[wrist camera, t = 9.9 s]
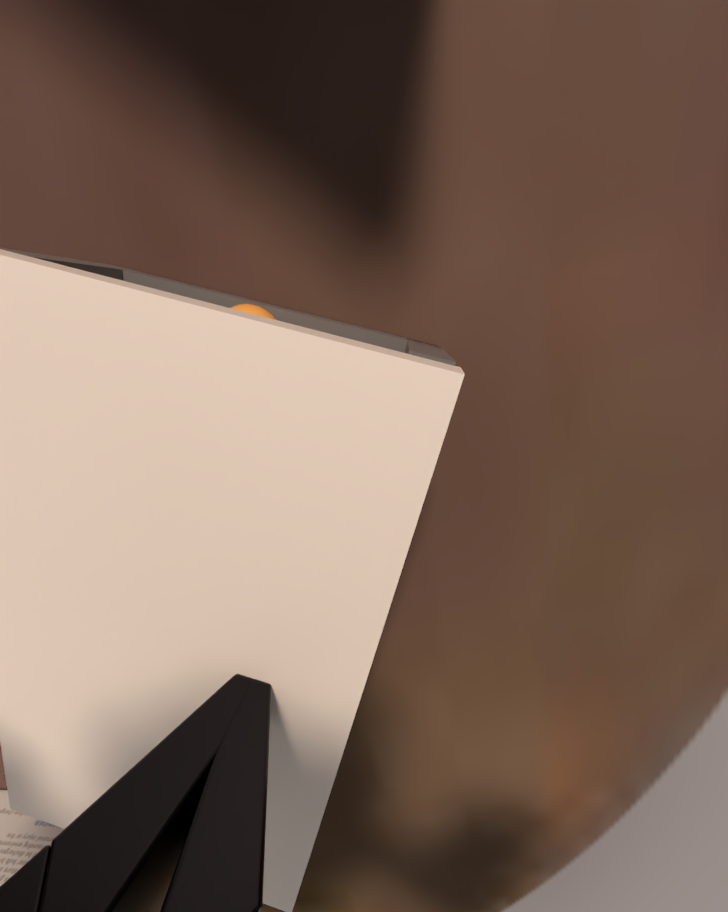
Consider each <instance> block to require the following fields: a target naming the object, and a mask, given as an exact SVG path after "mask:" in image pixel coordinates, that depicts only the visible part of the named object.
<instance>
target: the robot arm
mask: <svg viewBox="0 0 728 912" xmlns="http://www.w3.org/2000/svg"><path fill="white" fill-rule="evenodd" d="M270 710H271V685H270V684H269V683H266V682H263V681H260V680H256V679H253V678H250V677H247V676H244V675H240V674H235V675H234V676H233V677H232V678H230V679H229V680H228V681H227V682H226V683H225V684H224V685H223V686H222V687H221V688H219V689H218V690H217V691H216V692H215V693H214V694H213V695H212V696H211V697H209V698H208V699H207V700H206V701H205V702H204V703H203V704H202V705H201V706H200V707H198V708H197V709H196V710H195V711H194V712H193V713H192V714H191V715H190V716H189V717H187V718H186V719H185V720H184V721H183V722H182V723H181V724H180V725H179V726H177V727H176V728H175V729H174V730H173V731H172V732H171V733H170V734H169V735H168V736H166V737H165V738H164V739H163V740H162V741H161V742H160V743H159V744H158V745H157V746H155V747H154V748H153V749H152V750H151V751H150V752H149V753H148V754H147V755H145V756H144V757H143V758H142V759H141V760H140V761H139V762H138V763H137V764H136V765H134V766H133V767H132V768H131V769H130V770H129V771H128V772H127V773H126V774H125V775H123V776H122V777H121V778H120V779H119V780H118V781H117V782H116V783H115V784H113V785H112V786H111V787H110V788H109V789H108V790H107V791H106V792H105V793H104V794H102V795H101V796H100V797H99V798H98V799H97V800H96V801H95V802H94V803H93V804H91V805H90V806H89V807H88V808H87V809H86V810H85V811H84V812H83V813H81V814H80V815H79V816H78V817H77V818H76V819H75V820H74V821H73V822H72V823H70V824H69V825H68V826H67V827H66V828H65V829H64V830H63V831H62V832H61V833H59V834H58V835H57V836H56V837H55V838H54V839H53V840H52V843H51V846H50V845H46V846H45V847H44V848H43V849H41V850H40V851H39V852H38V853H37V854H36V855H35V856H34V857H33V858H32V859H30V860H29V861H28V862H27V863H26V864H25V865H24V866H23V867H22V868H21V869H19V870H18V871H17V872H16V873H15V874H14V875H13V876H12V877H10V878H9V879H8V880H7V881H6V882H5V883H3V884H2V885H1V886H0V912H261V909H262V904H263V879H264V855H265V831H266V807H267V783H268V759H269V735H270Z"/></svg>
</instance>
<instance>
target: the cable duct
mask: <svg viewBox="0 0 728 912" xmlns="http://www.w3.org/2000/svg"><path fill="white" fill-rule="evenodd" d="M0 249H2V250H6V251H10V252H13V253H17V254H21V255H25V256H29V257H33V258H37V259H41V260H45V261H48V262H52V263H56V264H60V265H64V266H68V267H72V268H76V269H80V270H84V271H87V272H91V273H95V274H99V275H103V276H107V277H111V278H115V279H119V280H122V281H126V282H130V283H134V284H138V285H142V286H146V287H150V288H154V289H157V290H161V291H165V292H169V293H173V294H177V295H181V296H185V297H189V298H193V299H196V300H200V301H204V302H208V303H212V304H216V305H220V306H224V307H228V308H231V309H235V310H239V311H243V312H247V313H251V314H255V315H259V316H263V317H266V318H270V319H274V320H278V321H282V322H286V323H290V324H294V325H298V326H302V327H305V328H309V329H313V330H317V331H321V332H325V333H329V334H333V335H337V336H340V337H344V338H348V339H352V340H356V341H360V342H364V343H368V344H372V345H375V346H379V347H383V348H387V349H391V350H395V351H399V352H403V353H407V354H411V355H414V356H418V357H422V358H426V359H430V360H434V361H438V362H442V363H446V364H449V365H453V366H455V364H456V361H455V360H453V359H452V358H451V357H450V356H449V355H448V354H447V353H446V352H445V351H444V350H443V349H442V348H441V347H440V346H436V345H432V344H428V343H424V342H420V341H416V340H412V339H408V338H404V337H400V336H396V335H392V334H388V333H384V332H380V331H376V330H372V329H368V328H364V327H360V326H356V325H352V324H348V323H344V322H340V321H336V320H332V319H328V318H324V317H320V316H316V315H312V314H308V313H304V312H300V311H296V310H292V309H288V308H284V307H280V306H276V305H272V304H268V303H264V302H260V301H256V300H252V299H248V298H244V297H240V296H235V295H231V294H227V293H223V292H219V291H215V290H211V289H207V288H203V287H199V286H195V285H191V284H187V283H183V282H179V281H175V280H171V279H167V278H163V277H159V276H155V275H151V274H147V273H143V272H139V271H135V270H131V269H127V268H123V267H119V266H115V265H110V264H104V263H97V262H91V261H84V260H78V259H71V258H65V257H58V256H52V255H45V254H39V253H32V252H26V251H19V250H13V249H6V248H0Z"/></svg>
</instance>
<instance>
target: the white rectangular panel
mask: <svg viewBox="0 0 728 912" xmlns="http://www.w3.org/2000/svg"><path fill="white" fill-rule="evenodd" d="M464 375H465V374H464V372H463V371H462V369H461V367H457V366H453V365H449V364H446V363H442V362H438V361H434V360H430V359H426V358H422V357H418V356H414V355H411V354H407V353H403V352H399V351H395V350H391V349H387V348H383V347H379V346H375V345H372V344H368V343H364V342H360V341H356V340H352V339H348V338H344V337H340V336H337V335H333V334H329V333H325V332H321V331H317V330H313V329H309V328H305V327H302V326H298V325H294V324H290V323H286V322H282V321H278V320H274V319H270V318H266V317H263V316H259V315H255V314H251V313H247V312H243V311H239V310H235V309H231V308H228V307H224V306H220V305H216V304H212V303H208V302H204V301H200V300H196V299H193V298H189V297H185V296H181V295H177V294H173V293H169V292H165V291H161V290H157V289H154V288H150V287H146V286H142V285H138V284H134V283H130V282H126V281H122V280H119V279H115V278H111V277H107V276H103V275H99V274H95V273H91V272H87V271H84V270H80V269H76V268H72V267H68V266H64V265H60V264H56V263H52V262H48V261H45V260H41V259H37V258H33V257H29V256H25V255H21V254H17V253H13V252H10V251H6V250H2V249H0V742H1V749H2V756H3V763H4V770H5V777H6V784H7V790H8V797H9V804H10V809H12V810H15V811H17V812H20V813H23V814H25V815H28V816H31V817H34V818H36V819H39V820H42V821H44V822H47V823H50V824H52V825H55V826H58V827H60V828H63V829H65V828H66V827H67V826H68V825H69V824H70V823H72V822H73V821H74V820H75V819H76V818H77V817H78V816H79V815H80V814H81V813H83V812H84V811H85V810H86V809H87V808H88V807H89V806H90V805H91V804H93V803H94V802H95V801H96V800H97V799H98V798H99V797H100V796H101V795H102V794H104V793H105V792H106V791H107V790H108V789H109V788H110V787H111V786H112V785H113V784H115V783H116V782H117V781H118V780H119V779H120V778H121V777H122V776H123V775H125V774H126V773H127V772H128V771H129V770H130V769H131V768H132V767H133V766H134V765H136V764H137V763H138V762H139V761H140V760H141V759H142V758H143V757H144V756H145V755H147V754H148V753H149V752H150V751H151V750H152V749H153V748H154V747H155V746H157V745H158V744H159V743H160V742H161V741H162V740H163V739H164V738H165V737H166V736H168V735H169V734H170V733H171V732H172V731H173V730H174V729H175V728H176V727H177V726H179V725H180V724H181V723H182V722H183V721H184V720H185V719H186V718H187V717H189V716H190V715H191V714H192V713H193V712H194V711H195V710H196V709H197V708H198V707H200V706H201V705H202V704H203V703H204V702H205V701H206V700H207V699H208V698H209V697H211V696H212V695H213V694H214V693H215V692H216V691H217V690H218V689H219V688H221V687H222V686H223V685H224V684H225V683H226V682H227V681H228V680H229V679H230V678H232V677H233V676H234V675H235V674H240V675H244V676H247V677H250V678H253V679H256V680H260V681H263V682H266V683H269V684H270V685H271V710H270V735H269V759H268V783H267V807H266V831H265V855H264V879H263V904H266V905H269V906H271V907H274V908H277V909H279V910H282V911H285V912H292V911H293V908H294V904H295V901H296V898H297V895H298V892H299V889H300V886H301V883H302V880H303V876H304V873H305V870H306V867H307V864H308V861H309V858H310V855H311V852H312V848H313V845H314V842H315V839H316V836H317V833H318V830H319V827H320V823H321V820H322V817H323V814H324V811H325V808H326V805H327V802H328V799H329V795H330V792H331V789H332V786H333V783H334V780H335V777H336V774H337V771H338V767H339V764H340V761H341V758H342V755H343V752H344V749H345V746H346V742H347V739H348V736H349V733H350V730H351V727H352V724H353V721H354V718H355V714H356V711H357V708H358V705H359V702H360V699H361V696H362V693H363V690H364V686H365V683H366V680H367V677H368V674H369V671H370V668H371V665H372V662H373V658H374V655H375V652H376V649H377V646H378V643H379V640H380V637H381V633H382V630H383V627H384V624H385V621H386V618H387V615H388V612H389V609H390V605H391V602H392V599H393V596H394V593H395V590H396V587H397V584H398V581H399V577H400V574H401V571H402V568H403V565H404V562H405V559H406V556H407V552H408V549H409V546H410V543H411V540H412V537H413V534H414V531H415V528H416V524H417V521H418V518H419V515H420V512H421V509H422V506H423V503H424V500H425V496H426V493H427V490H428V487H429V484H430V481H431V478H432V475H433V472H434V468H435V465H436V462H437V459H438V456H439V453H440V450H441V447H442V443H443V440H444V437H445V434H446V431H447V428H448V425H449V422H450V419H451V415H452V412H453V409H454V406H455V403H456V400H457V397H458V394H459V391H460V387H461V384H462V381H463V378H464Z"/></svg>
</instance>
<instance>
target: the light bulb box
mask: <svg viewBox="0 0 728 912" xmlns="http://www.w3.org/2000/svg"><path fill="white" fill-rule="evenodd" d="M63 830H64V829H63V828H60V827H58V826H55V825H52V824H50V823H47V822H44V821H42V820H39V819H36V818H34V817H31V816H28V815H25V814H23V813H20V812H17V811H15V810H12V809H10V804H9V797H8V790H0V886H1V885H2V884H3V883H5V882H6V881H7V880H8V879H9V878H10V877H12V876H13V875H14V874H15V873H16V872H17V871H18V870H19V869H21V868H22V867H23V866H24V865H25V864H26V863H27V862H28V861H29V860H30V859H32V858H33V857H34V856H35V855H36V854H37V853H38V852H39V851H40V850H41V849H43V848H44V847H45V846H46V845H50V846H51V843H52V840H53V839H54V838H55V837H56V836H57V835H58V834H59V833H61V832H62V831H63Z"/></svg>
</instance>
